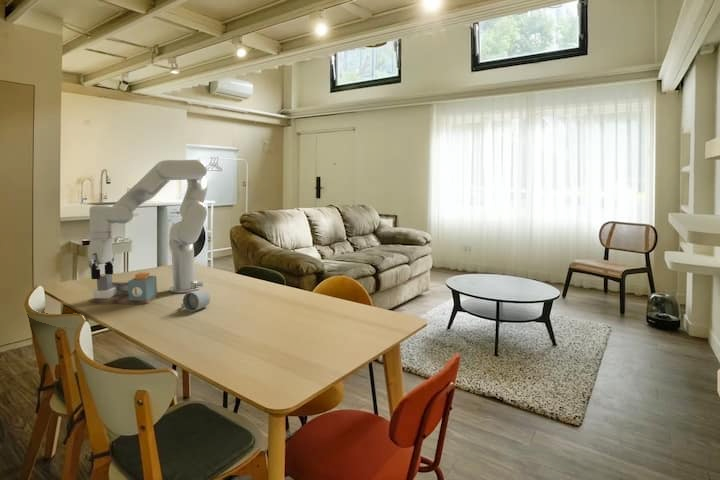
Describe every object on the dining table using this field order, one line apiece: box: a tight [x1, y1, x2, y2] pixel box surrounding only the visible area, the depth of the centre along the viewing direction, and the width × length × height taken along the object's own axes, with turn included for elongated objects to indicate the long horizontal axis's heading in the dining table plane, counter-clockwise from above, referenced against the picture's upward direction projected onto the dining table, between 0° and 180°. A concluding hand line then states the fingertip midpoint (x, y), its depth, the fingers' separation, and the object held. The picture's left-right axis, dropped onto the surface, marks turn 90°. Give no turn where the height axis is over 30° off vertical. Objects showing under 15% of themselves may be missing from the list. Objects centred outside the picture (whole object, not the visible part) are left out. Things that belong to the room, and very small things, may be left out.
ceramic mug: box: [180, 289, 211, 313], centre depth 169 cm, size 11×8×8 cm
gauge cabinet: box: [127, 275, 158, 300], centre depth 179 cm, size 7×11×8 cm, turn 3°
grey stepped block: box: [92, 273, 117, 298], centre depth 178 cm, size 6×7×9 cm
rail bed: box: [88, 281, 158, 305], centre depth 179 cm, size 23×10×7 cm, turn 93°
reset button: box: [134, 272, 150, 280], centre depth 178 cm, size 4×4×3 cm
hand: (102, 276), depth 177 cm, fingers open, 9 cm apart
